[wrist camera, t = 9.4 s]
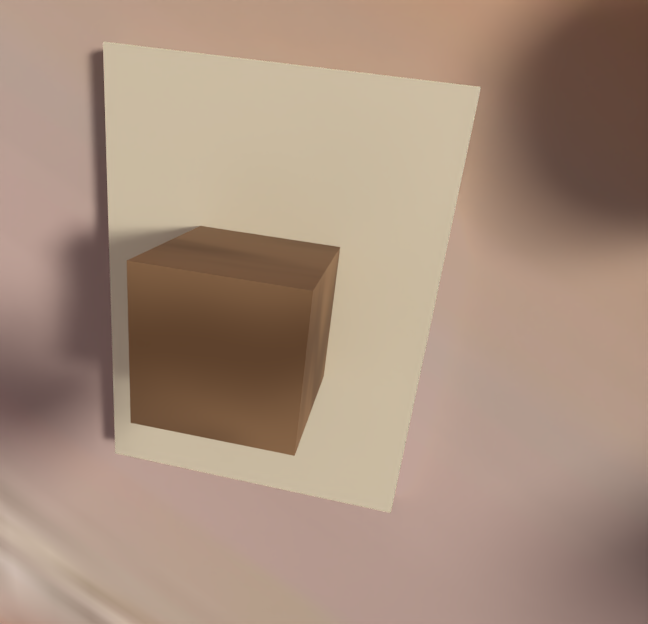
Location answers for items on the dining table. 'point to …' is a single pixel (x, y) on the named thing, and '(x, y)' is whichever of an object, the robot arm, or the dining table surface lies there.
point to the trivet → (293, 234)
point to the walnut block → (230, 335)
